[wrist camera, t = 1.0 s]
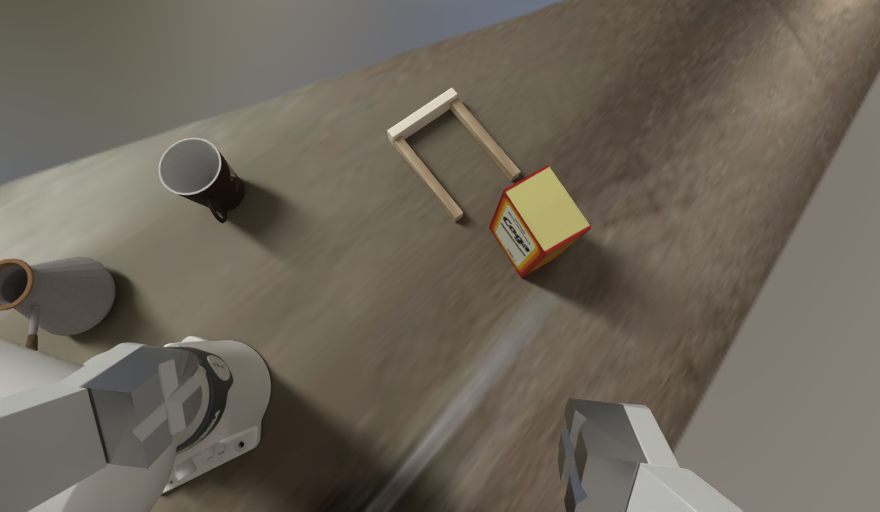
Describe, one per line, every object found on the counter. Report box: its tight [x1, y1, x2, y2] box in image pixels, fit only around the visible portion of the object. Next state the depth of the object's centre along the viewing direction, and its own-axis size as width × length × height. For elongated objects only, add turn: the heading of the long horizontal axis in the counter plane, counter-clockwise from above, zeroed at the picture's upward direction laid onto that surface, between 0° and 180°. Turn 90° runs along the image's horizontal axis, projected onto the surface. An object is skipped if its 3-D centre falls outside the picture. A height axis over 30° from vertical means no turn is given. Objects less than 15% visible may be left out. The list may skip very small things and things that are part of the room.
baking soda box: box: [489, 165, 591, 278], centre depth 60 cm, size 10×6×16 cm
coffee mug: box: [158, 138, 245, 223], centre depth 64 cm, size 12×9×10 cm
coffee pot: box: [0, 257, 116, 351], centre depth 57 cm, size 21×12×15 cm, turn 29°
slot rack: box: [387, 88, 521, 222], centre depth 69 cm, size 13×18×3 cm
